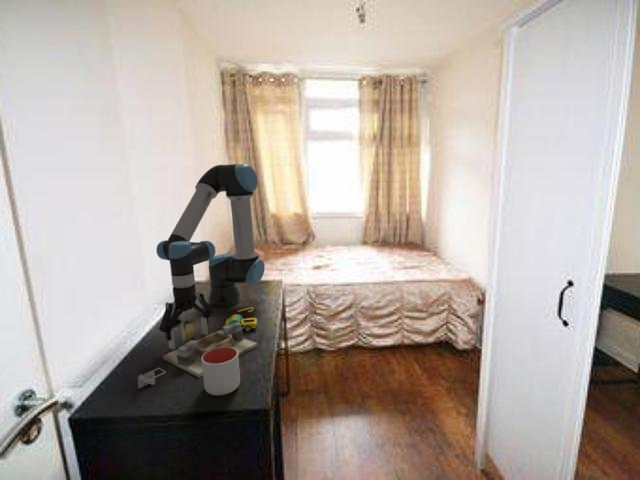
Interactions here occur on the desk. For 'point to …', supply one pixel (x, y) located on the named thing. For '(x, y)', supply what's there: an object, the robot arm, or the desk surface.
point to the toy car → (243, 321)
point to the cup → (221, 370)
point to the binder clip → (148, 378)
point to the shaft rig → (209, 348)
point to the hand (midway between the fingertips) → (189, 340)
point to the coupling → (188, 330)
